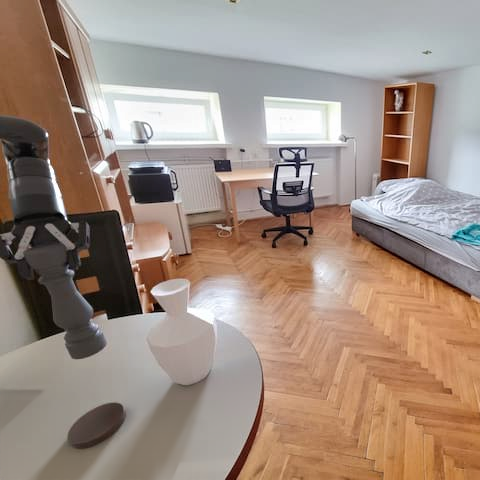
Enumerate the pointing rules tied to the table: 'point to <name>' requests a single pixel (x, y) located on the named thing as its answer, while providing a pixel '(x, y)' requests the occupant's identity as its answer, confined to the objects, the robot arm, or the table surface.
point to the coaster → (96, 425)
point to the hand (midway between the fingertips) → (52, 273)
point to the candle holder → (66, 300)
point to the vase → (182, 334)
